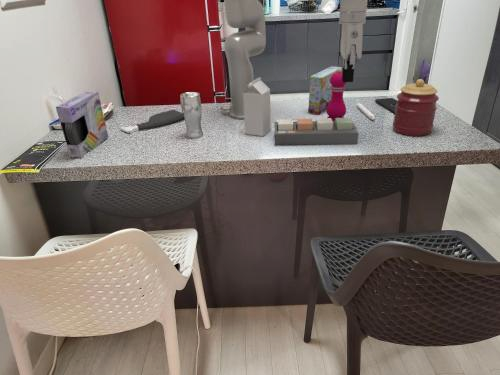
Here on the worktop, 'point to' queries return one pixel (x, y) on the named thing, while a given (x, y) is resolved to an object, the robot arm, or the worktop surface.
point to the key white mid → (324, 124)
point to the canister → (415, 109)
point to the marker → (365, 111)
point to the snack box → (320, 90)
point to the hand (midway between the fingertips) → (347, 81)
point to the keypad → (315, 136)
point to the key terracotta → (304, 124)
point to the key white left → (285, 124)
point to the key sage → (343, 124)
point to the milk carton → (257, 108)
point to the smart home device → (387, 104)
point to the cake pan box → (82, 123)
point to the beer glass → (192, 114)
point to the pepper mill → (336, 96)
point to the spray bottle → (157, 121)
